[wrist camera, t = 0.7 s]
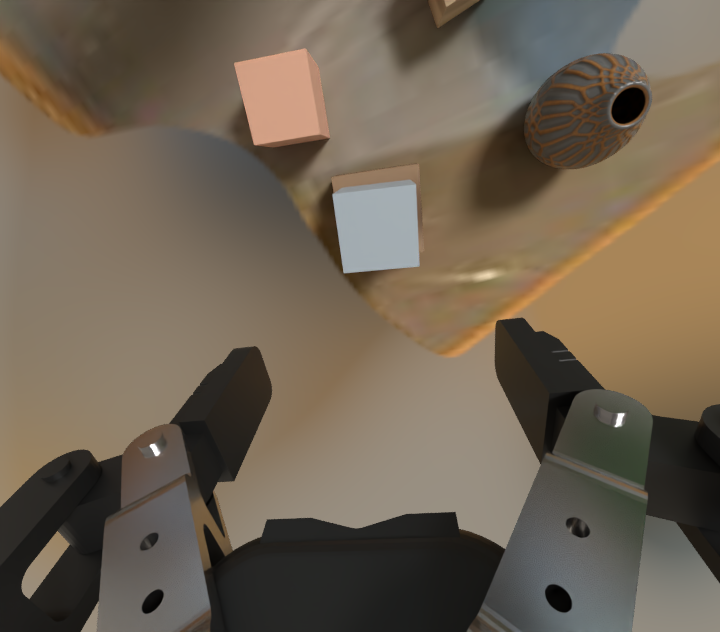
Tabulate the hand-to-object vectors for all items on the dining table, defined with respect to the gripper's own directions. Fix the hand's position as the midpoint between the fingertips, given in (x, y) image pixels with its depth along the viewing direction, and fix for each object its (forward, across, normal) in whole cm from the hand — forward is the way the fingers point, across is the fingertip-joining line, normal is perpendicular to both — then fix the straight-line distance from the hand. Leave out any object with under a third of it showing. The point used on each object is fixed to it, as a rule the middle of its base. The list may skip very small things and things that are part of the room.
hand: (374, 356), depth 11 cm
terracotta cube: (+23, +6, -10) cm, 25 cm away
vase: (+23, -15, -6) cm, 28 cm away
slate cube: (+19, 0, -1) cm, 19 cm away
